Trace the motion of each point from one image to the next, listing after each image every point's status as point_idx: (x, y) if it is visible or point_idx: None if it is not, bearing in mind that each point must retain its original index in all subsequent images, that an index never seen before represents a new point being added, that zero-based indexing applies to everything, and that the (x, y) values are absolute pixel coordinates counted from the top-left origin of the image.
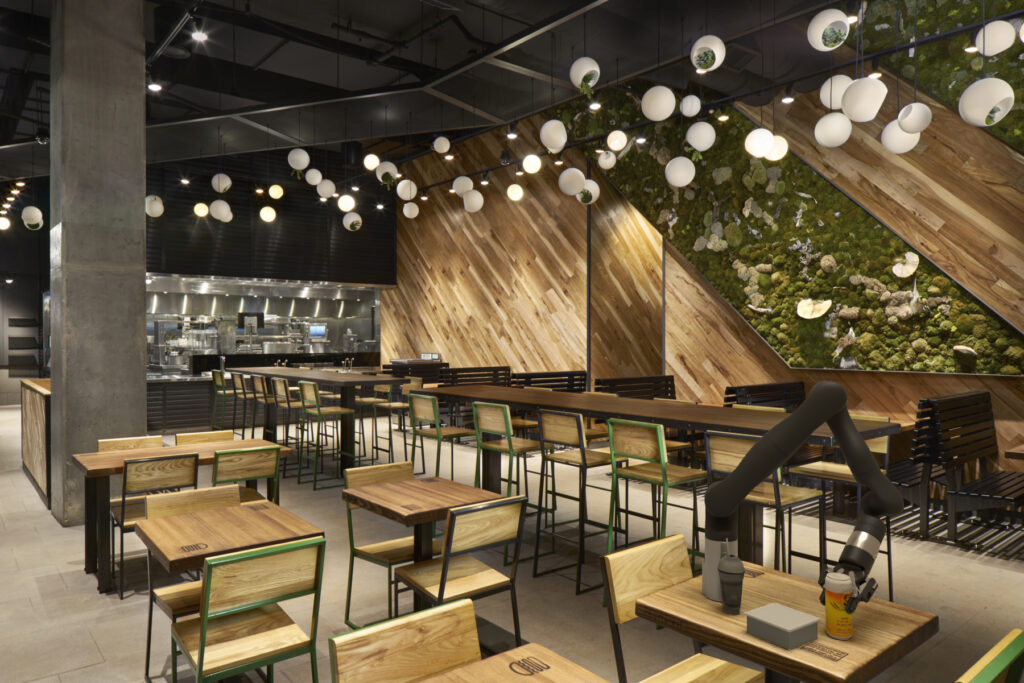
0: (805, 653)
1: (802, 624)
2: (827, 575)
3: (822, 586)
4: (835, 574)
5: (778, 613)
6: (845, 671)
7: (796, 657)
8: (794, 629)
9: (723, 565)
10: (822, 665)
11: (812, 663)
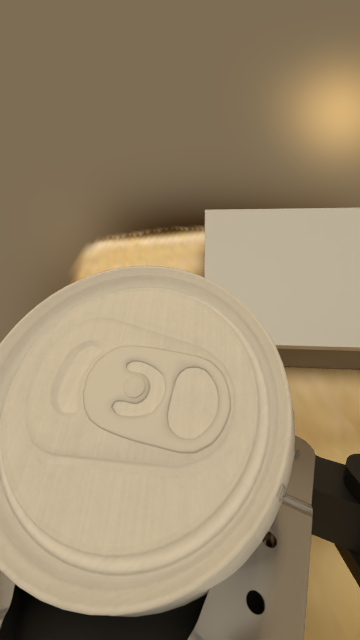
0: (177, 268)
1: (209, 257)
2: (228, 292)
3: (324, 460)
4: (216, 476)
5: (313, 270)
6: (83, 262)
7: (179, 242)
8: (205, 226)
9: None
10: (127, 251)
11: (144, 245)
